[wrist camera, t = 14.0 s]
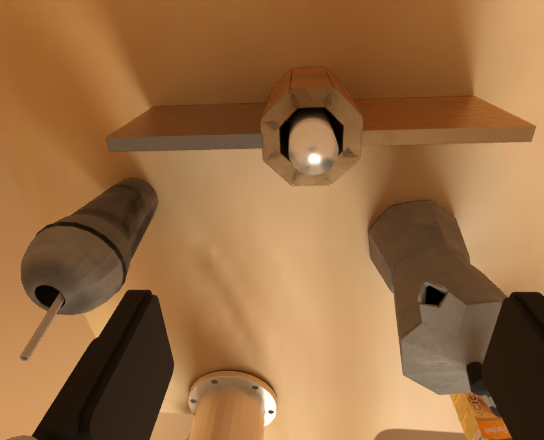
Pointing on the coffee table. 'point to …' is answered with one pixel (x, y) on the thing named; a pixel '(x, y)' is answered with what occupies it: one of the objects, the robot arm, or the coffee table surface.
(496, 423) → the candy box
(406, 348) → the coffeepot
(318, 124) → the steel pin
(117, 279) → the beverage cup
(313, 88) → the hinge
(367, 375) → the coffee table surface
